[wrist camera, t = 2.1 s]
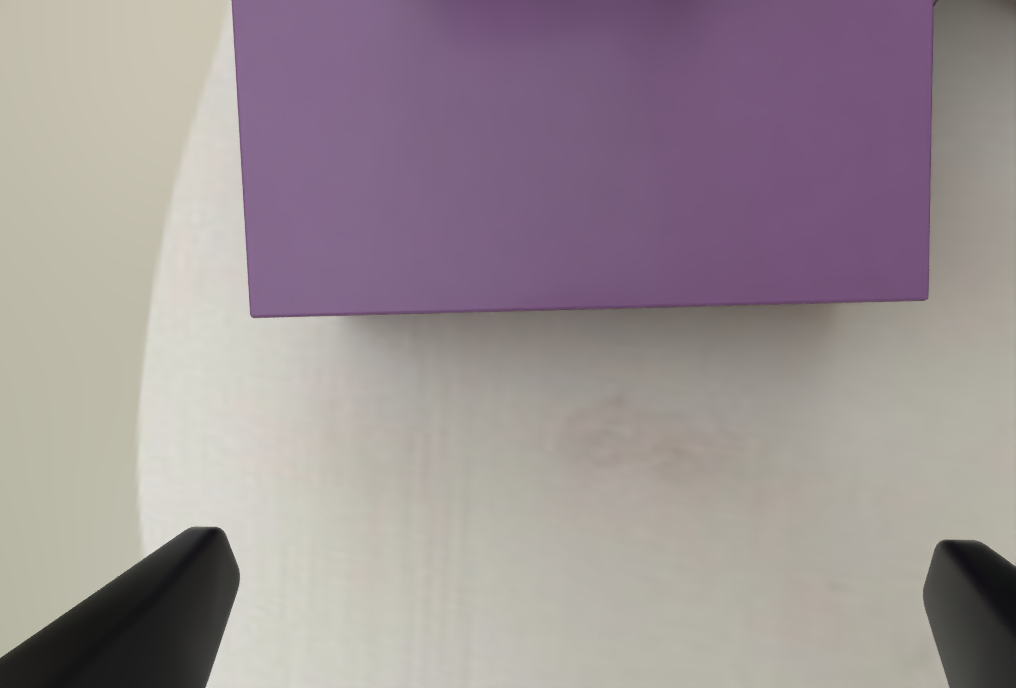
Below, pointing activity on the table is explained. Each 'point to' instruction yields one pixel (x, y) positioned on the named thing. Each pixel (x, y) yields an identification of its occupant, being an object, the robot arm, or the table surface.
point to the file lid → (582, 153)
